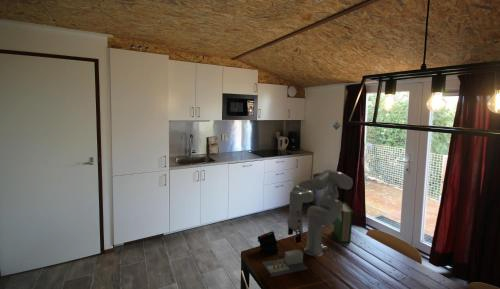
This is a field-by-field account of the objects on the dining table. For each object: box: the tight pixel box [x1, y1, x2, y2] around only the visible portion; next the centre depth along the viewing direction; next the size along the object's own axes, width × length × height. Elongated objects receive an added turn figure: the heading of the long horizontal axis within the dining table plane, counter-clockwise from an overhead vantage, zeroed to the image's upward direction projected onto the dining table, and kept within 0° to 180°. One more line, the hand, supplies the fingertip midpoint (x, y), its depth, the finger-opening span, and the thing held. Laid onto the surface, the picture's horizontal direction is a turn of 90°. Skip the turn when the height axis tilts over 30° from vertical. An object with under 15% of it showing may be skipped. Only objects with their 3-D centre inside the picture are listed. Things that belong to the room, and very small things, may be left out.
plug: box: [284, 249, 310, 265], centre depth 157 cm, size 16×4×6 cm, turn 110°
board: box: [261, 257, 309, 277], centre depth 152 cm, size 24×14×5 cm, turn 110°
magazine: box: [257, 230, 279, 254], centre depth 166 cm, size 4×13×15 cm, turn 87°
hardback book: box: [333, 202, 354, 244], centre depth 191 cm, size 18×7×24 cm, turn 176°
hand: (294, 238), depth 155 cm, fingers open, 9 cm apart
